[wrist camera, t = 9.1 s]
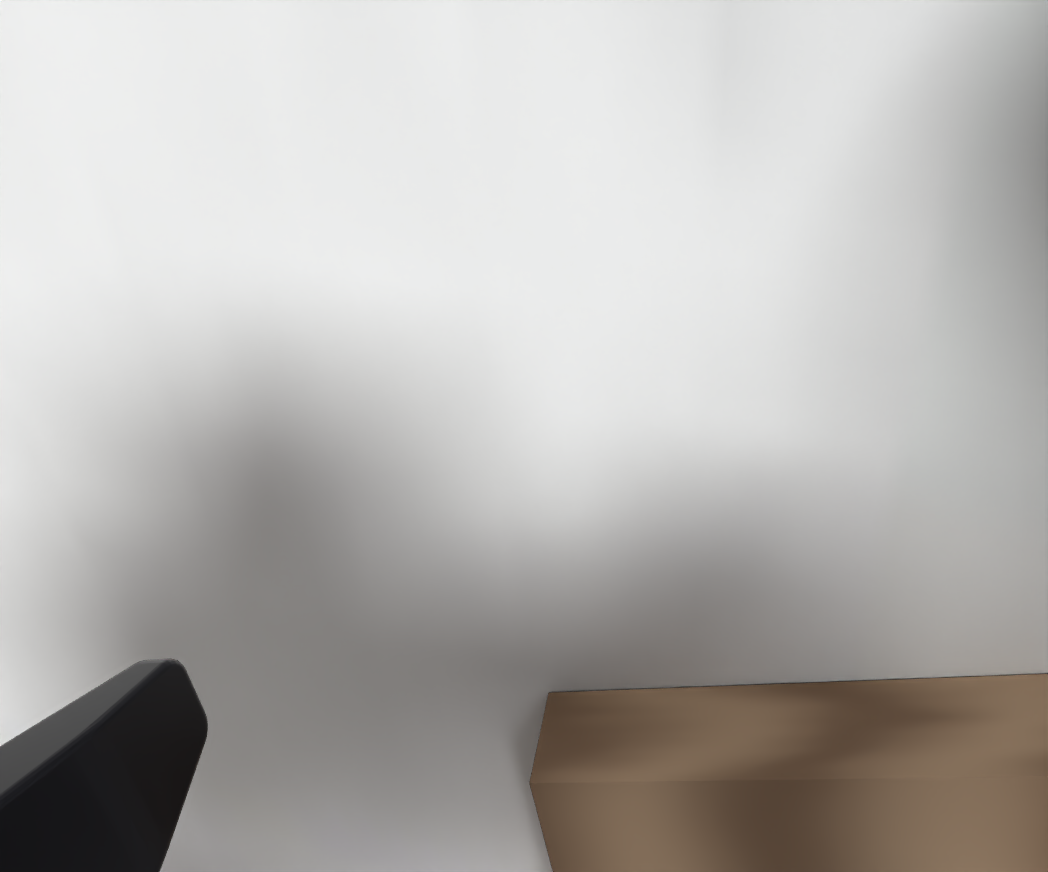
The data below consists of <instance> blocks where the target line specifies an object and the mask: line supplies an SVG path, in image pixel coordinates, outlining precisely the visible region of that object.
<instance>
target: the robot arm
mask: <svg viewBox="0 0 1048 872" xmlns="http://www.w3.org/2000/svg"><path fill="white" fill-rule="evenodd" d="M207 731H208V723H207V717H206V714H205V711H204V709H203V707H202V704H201V702H200V700H199V698H198V696H197V693H196V691H195V689H194V687H193V684H192V682H191V680H190V678H189V675H188V673H187V671H186V669H185V667H184V666H183V665H182V664H181V663H180V662H179V661H178V660H174V659H155V660H144V661H140V662H138V663H136V664H134V665H132V666H131V667H129V668H127V669H126V670H124V671H123V672H121V673H119V674H118V675H116V676H114V677H113V678H111V679H109V680H108V681H106V682H105V683H103V684H101V685H100V686H98V687H96V688H95V689H93V690H91V691H90V692H88V693H87V694H85V695H83V696H82V697H80V698H78V699H77V700H75V701H73V702H72V703H70V704H69V705H67V706H65V707H64V708H62V709H60V710H59V711H57V712H56V713H54V714H52V715H51V716H49V717H47V718H46V719H44V720H42V721H41V722H39V723H38V724H36V725H34V726H33V727H31V728H29V729H28V730H26V731H24V732H23V733H21V734H20V735H18V736H16V737H15V738H13V739H11V740H10V741H8V742H7V743H5V744H3V745H2V746H0V872H160V869H161V867H162V864H163V861H164V859H165V856H166V853H167V851H168V848H169V845H170V842H171V839H172V836H173V833H174V831H175V828H176V825H177V822H178V819H179V816H180V813H181V810H182V807H183V805H184V802H185V799H186V796H187V793H188V790H189V787H190V784H191V782H192V779H193V776H194V773H195V770H196V767H197V764H198V761H199V759H200V756H201V753H202V750H203V747H204V744H205V741H206V737H207Z"/></svg>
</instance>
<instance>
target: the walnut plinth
mask: <svg viewBox="0 0 1048 872" xmlns="http://www.w3.org/2000/svg"><path fill="white" fill-rule="evenodd" d="M530 787H531V791H532V795H533V798H534V802H535V806H536V810H537V814H538V817H539V821H540V825H541V829H542V832H543V836H544V840H545V844H546V848H547V851H548V855H549V859H550V863H551V866H552V870H553V872H1048V674H1031V675H1005V676H978V677H952V678H925V679H898V680H872V681H845V682H819V683H792V684H765V685H739V686H712V687H686V688H659V689H632V690H606V691H579V692H553V693H548V698H547V702H546V707H545V712H544V717H543V721H542V726H541V731H540V736H539V740H538V745H537V750H536V754H535V759H534V764H533V769H532V773H531V778H530Z"/></svg>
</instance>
